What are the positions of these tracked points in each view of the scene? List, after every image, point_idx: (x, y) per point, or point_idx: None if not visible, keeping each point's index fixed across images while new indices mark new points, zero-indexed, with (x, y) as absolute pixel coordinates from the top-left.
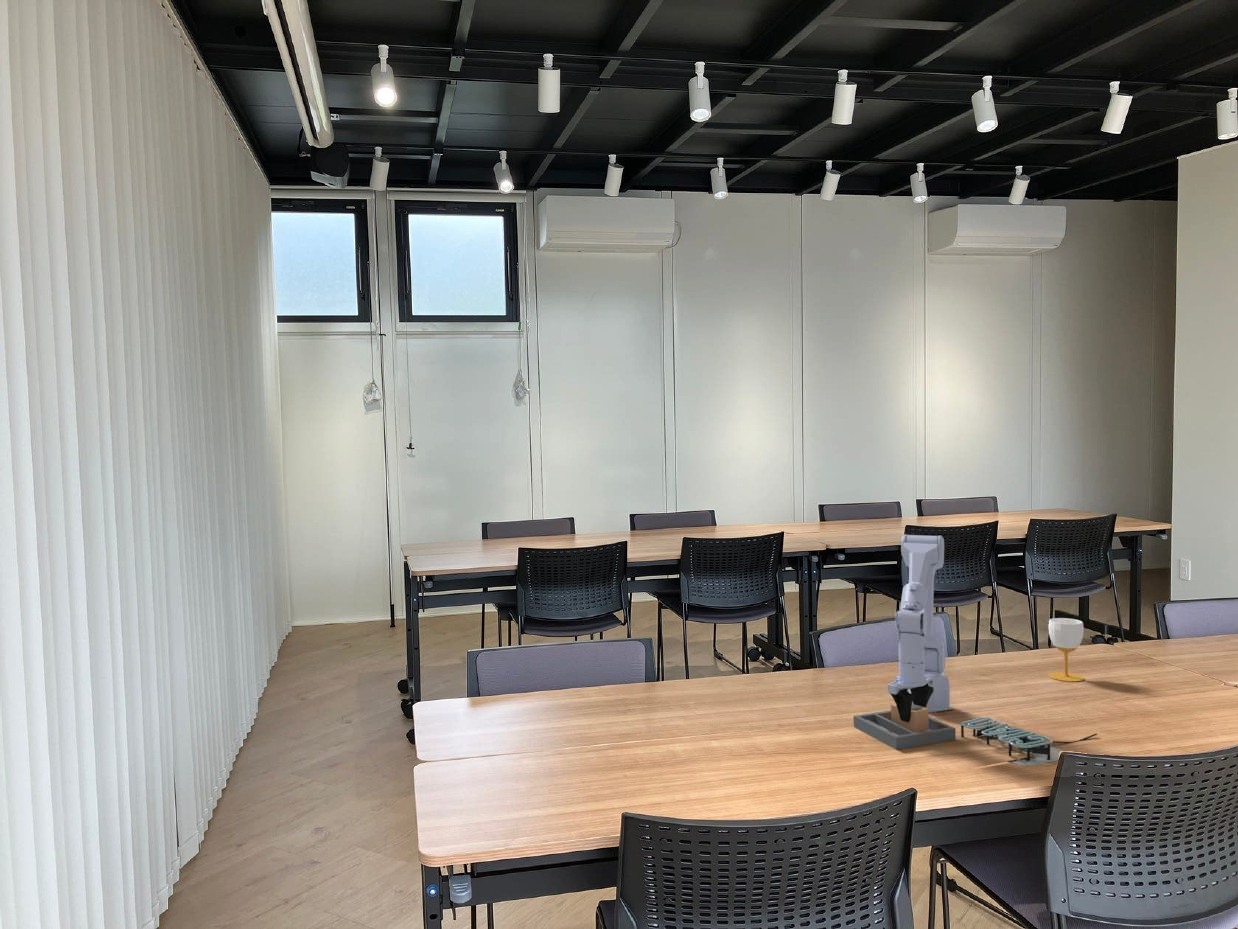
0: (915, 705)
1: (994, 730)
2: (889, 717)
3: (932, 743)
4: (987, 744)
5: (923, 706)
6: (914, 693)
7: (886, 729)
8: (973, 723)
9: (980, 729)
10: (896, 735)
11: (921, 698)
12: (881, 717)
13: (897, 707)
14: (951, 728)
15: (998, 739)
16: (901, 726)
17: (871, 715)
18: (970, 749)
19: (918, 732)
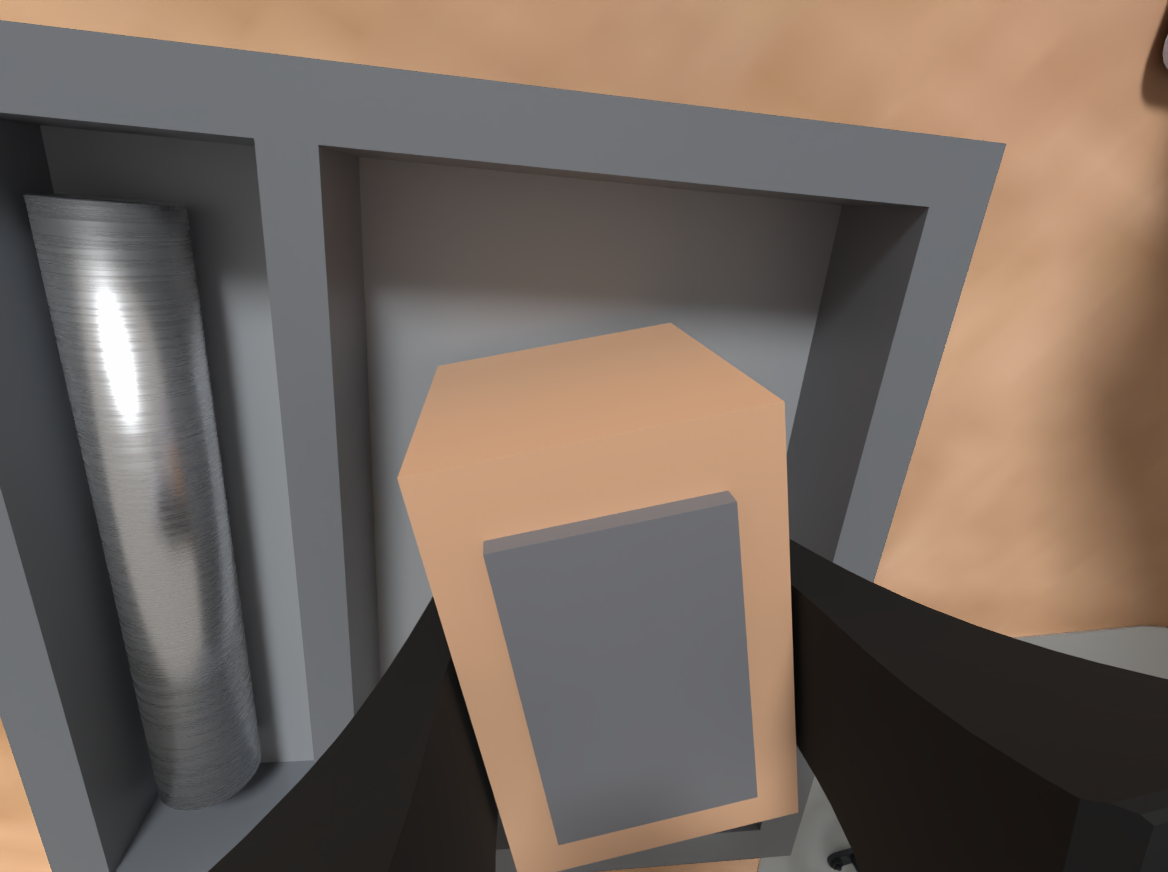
0: (721, 725)
1: (1157, 676)
2: (567, 173)
3: None
4: (854, 864)
5: (807, 755)
6: (932, 780)
7: (159, 626)
8: None
9: (1110, 633)
10: (175, 785)
11: (877, 848)
12: (289, 325)
13: (362, 713)
14: (761, 850)
15: None
16: (342, 692)
17: (193, 132)
18: (709, 867)
19: None
